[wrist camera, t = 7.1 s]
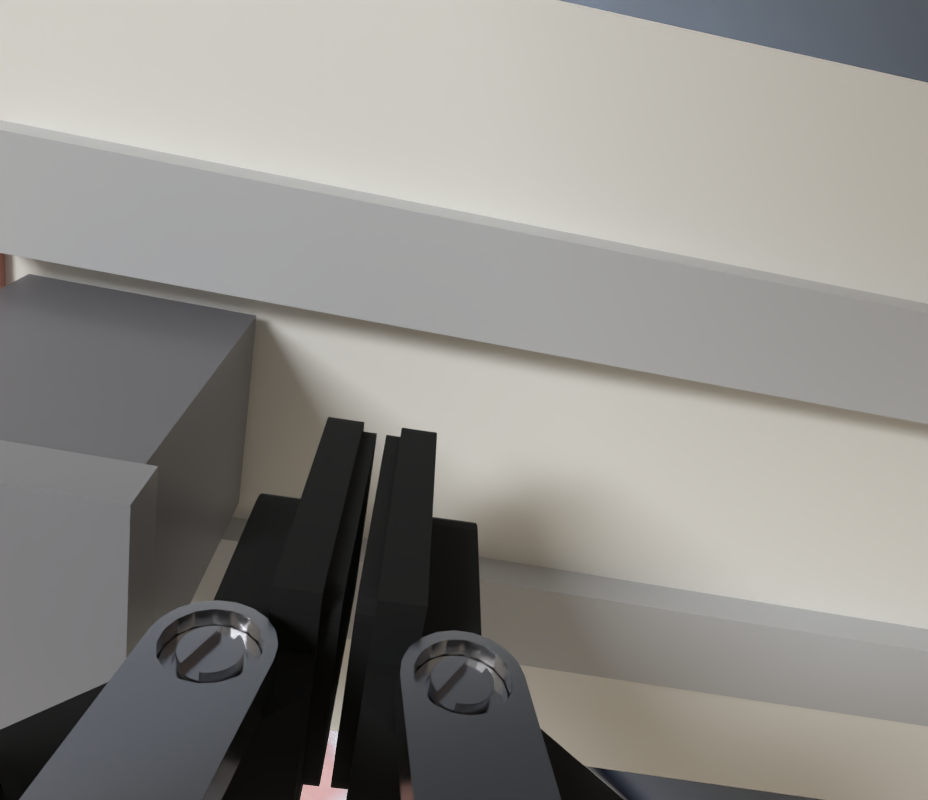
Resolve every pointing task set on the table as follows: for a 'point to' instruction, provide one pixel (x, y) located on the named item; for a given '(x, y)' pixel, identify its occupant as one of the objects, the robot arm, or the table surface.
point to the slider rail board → (548, 331)
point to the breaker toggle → (108, 474)
